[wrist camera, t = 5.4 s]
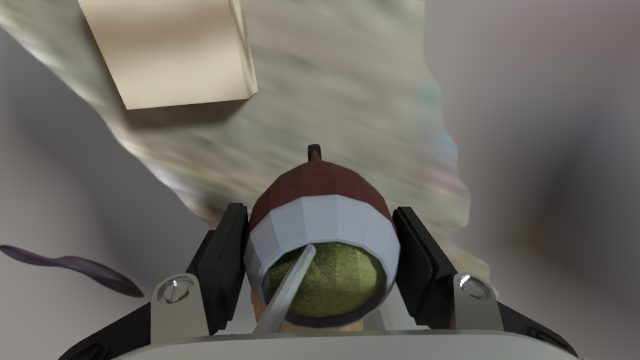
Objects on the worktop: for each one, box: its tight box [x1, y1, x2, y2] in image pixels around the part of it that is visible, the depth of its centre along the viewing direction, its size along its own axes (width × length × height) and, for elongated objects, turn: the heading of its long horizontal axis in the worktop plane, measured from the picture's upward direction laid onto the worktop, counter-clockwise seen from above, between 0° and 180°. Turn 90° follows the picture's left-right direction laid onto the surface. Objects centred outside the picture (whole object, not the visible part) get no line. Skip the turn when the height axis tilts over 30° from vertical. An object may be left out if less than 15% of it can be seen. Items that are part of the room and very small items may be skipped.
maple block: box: [78, 0, 258, 110], centre depth 22 cm, size 11×11×6 cm
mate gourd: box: [243, 144, 401, 334], centre depth 9 cm, size 8×8×15 cm
